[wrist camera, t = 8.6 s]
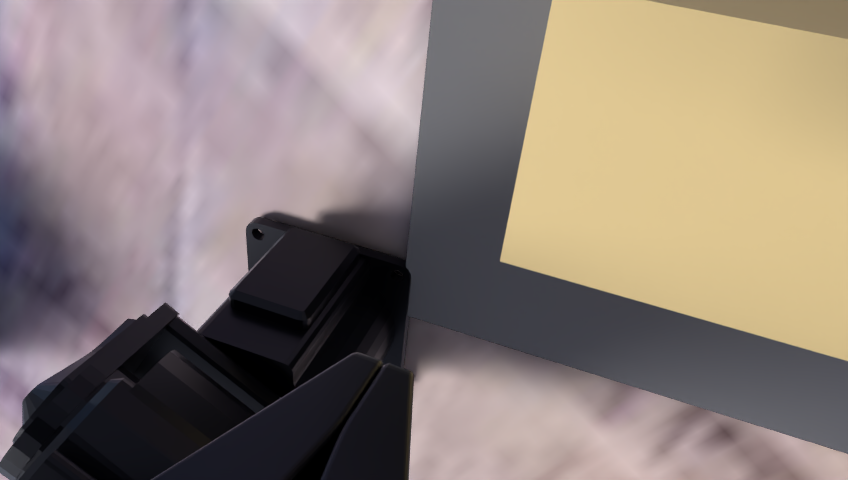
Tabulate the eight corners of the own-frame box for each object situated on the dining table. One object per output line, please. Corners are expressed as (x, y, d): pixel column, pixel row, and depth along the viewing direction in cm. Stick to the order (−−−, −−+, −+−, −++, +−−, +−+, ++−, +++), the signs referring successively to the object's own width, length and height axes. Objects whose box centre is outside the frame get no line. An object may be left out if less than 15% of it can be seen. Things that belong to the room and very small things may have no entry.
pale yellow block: (1009, 406, 13) (499, 261, 15) (934, 240, 18) (551, 146, 20) (1261, 118, 10) (555, -18, 12) (1085, 4, 14) (602, -78, 17)
